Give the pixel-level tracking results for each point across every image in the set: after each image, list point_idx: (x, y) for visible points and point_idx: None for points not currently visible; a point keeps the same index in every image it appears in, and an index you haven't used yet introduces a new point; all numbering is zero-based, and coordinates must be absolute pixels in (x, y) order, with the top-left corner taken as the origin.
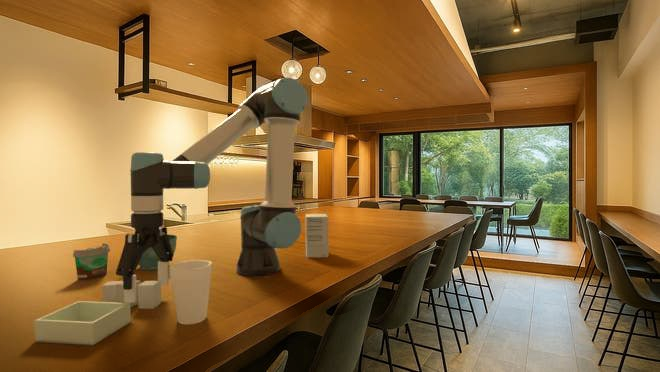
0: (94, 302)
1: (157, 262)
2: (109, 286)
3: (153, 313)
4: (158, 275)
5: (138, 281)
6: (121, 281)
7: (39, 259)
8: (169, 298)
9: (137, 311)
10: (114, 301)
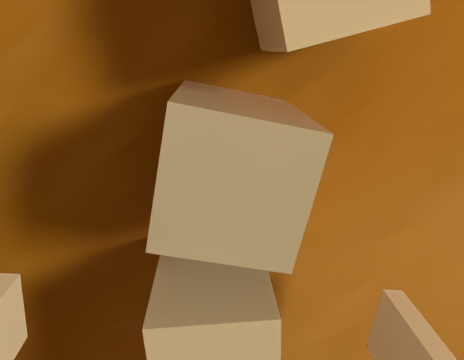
0: None
1: None
2: None
3: (106, 335)
4: (422, 352)
5: (267, 269)
6: (397, 11)
7: None
8: (322, 309)
9: (122, 249)
10: (254, 16)
